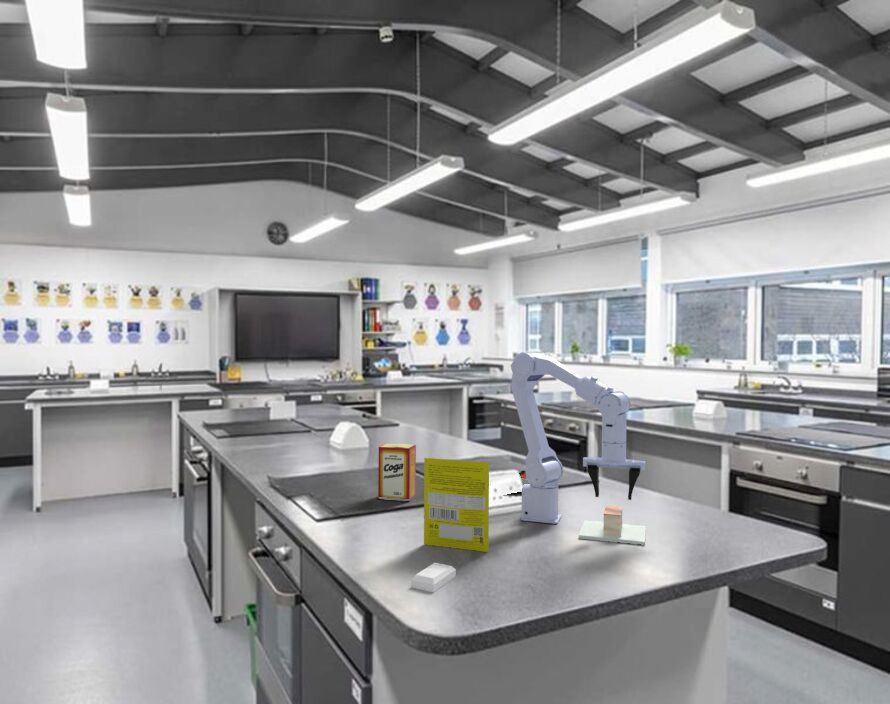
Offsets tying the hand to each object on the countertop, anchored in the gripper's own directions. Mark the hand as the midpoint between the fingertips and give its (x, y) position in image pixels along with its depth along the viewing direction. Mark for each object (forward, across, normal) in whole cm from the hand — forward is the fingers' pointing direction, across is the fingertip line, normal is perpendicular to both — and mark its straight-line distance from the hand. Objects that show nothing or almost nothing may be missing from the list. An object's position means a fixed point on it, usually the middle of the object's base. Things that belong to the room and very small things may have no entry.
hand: (613, 497), depth 152 cm
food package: (+9, -33, -23) cm, 41 cm away
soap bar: (+10, -31, -43) cm, 54 cm away
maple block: (+8, 0, 0) cm, 8 cm away
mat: (+9, 0, 0) cm, 9 cm away
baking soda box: (+9, -63, +14) cm, 65 cm away
